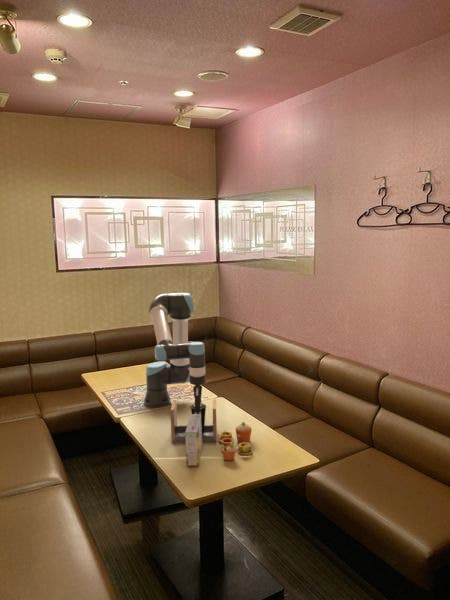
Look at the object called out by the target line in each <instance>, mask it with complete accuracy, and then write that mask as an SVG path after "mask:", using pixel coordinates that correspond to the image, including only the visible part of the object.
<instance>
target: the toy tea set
mask: <svg viewBox="0 0 450 600" xmlns="http://www.w3.org/2000/svg"><path fill="white" fill-rule="evenodd" d="M252 431H253V430H252V426H249V425H248V424H246V423H245V421H242V422H241V424H238V426H236V427H235V434H236V441H237V443H238V446H235V445H234V442H235V441H234V437H232V436H233V433H232V432H231V431H226V430H223V431H222V432H221V433H220V435H218V434H217V435H218V436H217V438H218V439H219V440H218V442H219V443H221V451H222V456H223V460H225V461H233V460H234V459H235V457H236V456H235V454H236V452H237V453H238V454H240V455H243V456H248V455H251V454H252V453H253V449H252V444H251V443H250V442H251V435H252Z"/></svg>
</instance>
